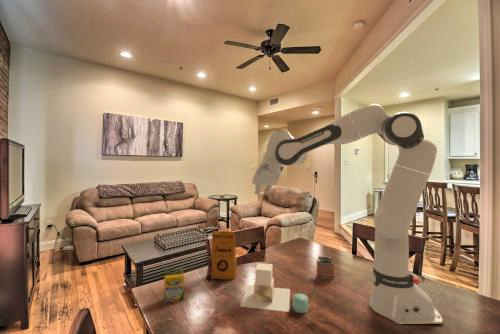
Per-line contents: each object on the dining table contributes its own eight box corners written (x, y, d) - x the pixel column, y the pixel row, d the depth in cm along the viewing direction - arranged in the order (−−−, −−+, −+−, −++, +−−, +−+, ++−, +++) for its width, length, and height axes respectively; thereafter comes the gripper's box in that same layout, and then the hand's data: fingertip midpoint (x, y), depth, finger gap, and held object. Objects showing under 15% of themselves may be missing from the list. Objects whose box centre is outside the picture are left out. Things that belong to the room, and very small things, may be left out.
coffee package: (235, 283, 109) (235, 234, 109) (208, 281, 111) (208, 233, 110) (239, 273, 119) (239, 228, 118) (214, 271, 120) (214, 227, 120)
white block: (272, 279, 98) (272, 264, 98) (271, 286, 92) (271, 270, 92) (257, 277, 99) (258, 263, 99) (255, 284, 93) (255, 269, 93)
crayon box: (164, 303, 93) (164, 273, 93) (164, 298, 96) (164, 270, 96) (183, 300, 95) (183, 271, 95) (183, 296, 98) (183, 267, 98)
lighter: (333, 276, 116) (333, 255, 116) (334, 279, 112) (335, 258, 112) (316, 275, 117) (316, 254, 116) (317, 278, 113) (317, 257, 113)
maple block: (273, 293, 99) (273, 278, 99) (272, 302, 92) (272, 287, 92) (256, 291, 100) (256, 277, 100) (254, 300, 93) (254, 285, 93)
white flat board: (290, 291, 102) (290, 289, 102) (289, 314, 86) (289, 311, 86) (248, 287, 105) (248, 284, 105) (239, 308, 90) (239, 306, 90)
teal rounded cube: (307, 307, 91) (307, 294, 91) (308, 316, 85) (308, 302, 85) (292, 306, 92) (292, 292, 92) (292, 314, 86) (292, 300, 86)
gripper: (267, 166, 98) (257, 198, 100) (284, 167, 116) (275, 194, 118) (254, 161, 101) (244, 192, 103) (273, 163, 119) (264, 189, 121)
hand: (261, 193), depth 111 cm, fingers open, 8 cm apart
